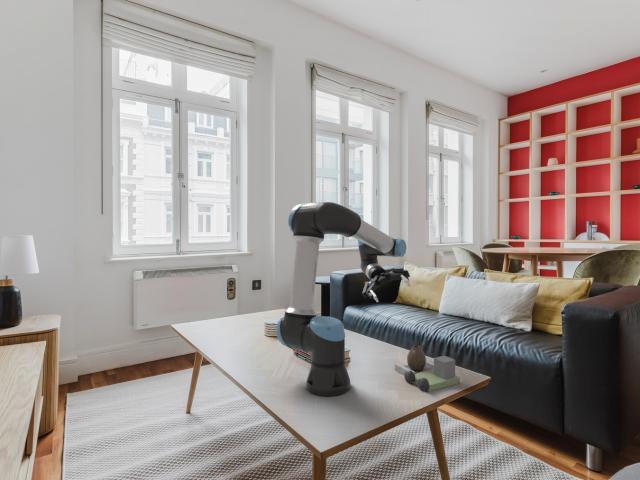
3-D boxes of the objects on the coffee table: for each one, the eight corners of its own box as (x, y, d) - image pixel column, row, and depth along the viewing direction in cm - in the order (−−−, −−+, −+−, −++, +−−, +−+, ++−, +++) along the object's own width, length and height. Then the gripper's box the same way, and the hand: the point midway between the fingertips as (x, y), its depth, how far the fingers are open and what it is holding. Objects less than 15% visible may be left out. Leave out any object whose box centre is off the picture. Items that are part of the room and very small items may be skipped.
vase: (426, 373, 141) (426, 349, 141) (407, 372, 143) (407, 348, 142) (425, 366, 148) (425, 343, 148) (407, 365, 149) (406, 342, 149)
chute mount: (394, 370, 147) (394, 364, 147) (421, 364, 153) (421, 358, 153) (412, 379, 138) (412, 372, 138) (439, 372, 144) (439, 366, 144)
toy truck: (404, 381, 137) (404, 358, 137) (437, 372, 144) (437, 351, 144) (425, 393, 127) (425, 369, 127) (460, 383, 134) (460, 360, 134)
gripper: (405, 268, 169) (425, 284, 148) (354, 294, 168) (366, 313, 147) (399, 253, 167) (418, 268, 146) (347, 279, 166) (359, 297, 145)
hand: (392, 291), depth 147 cm, fingers open, 13 cm apart
